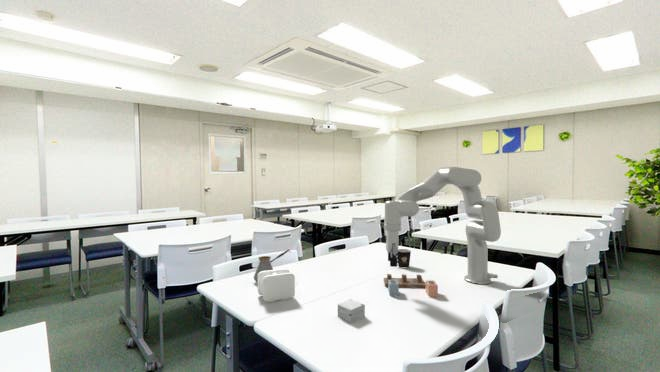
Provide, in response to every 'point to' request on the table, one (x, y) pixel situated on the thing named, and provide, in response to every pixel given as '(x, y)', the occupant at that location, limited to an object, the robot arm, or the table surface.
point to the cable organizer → (276, 284)
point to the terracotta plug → (431, 288)
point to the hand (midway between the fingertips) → (392, 263)
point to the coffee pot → (265, 264)
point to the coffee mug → (403, 257)
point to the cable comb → (407, 281)
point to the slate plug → (393, 288)
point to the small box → (351, 310)
